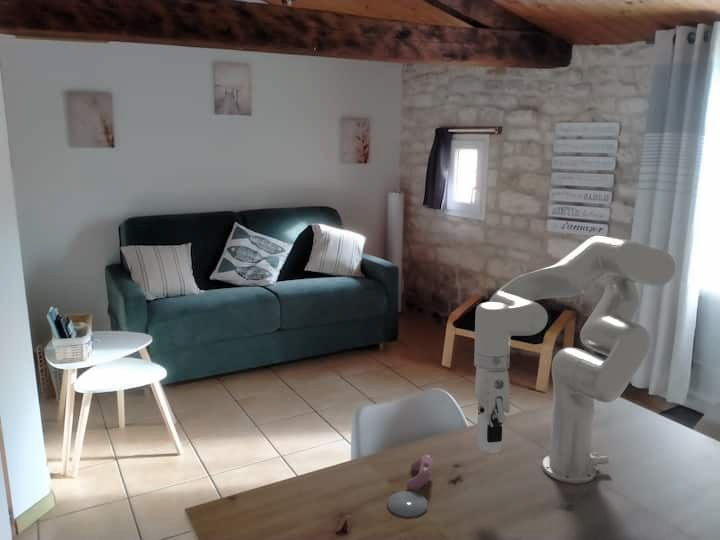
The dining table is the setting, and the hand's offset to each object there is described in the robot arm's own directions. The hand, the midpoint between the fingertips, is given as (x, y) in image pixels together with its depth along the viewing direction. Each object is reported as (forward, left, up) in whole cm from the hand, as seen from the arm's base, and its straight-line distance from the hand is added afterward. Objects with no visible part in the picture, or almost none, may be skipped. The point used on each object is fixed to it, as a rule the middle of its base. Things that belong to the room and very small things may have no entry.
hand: (489, 433), depth 136 cm
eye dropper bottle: (0, 0, -4) cm, 4 cm away
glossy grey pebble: (+19, 0, -16) cm, 25 cm away
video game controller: (+13, -9, -16) cm, 23 cm away
